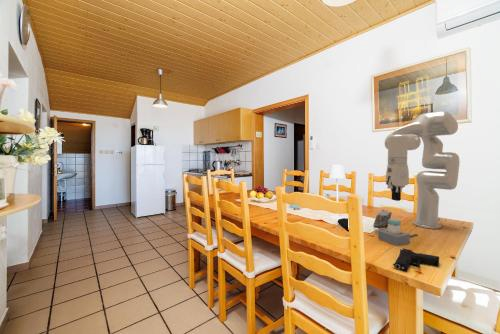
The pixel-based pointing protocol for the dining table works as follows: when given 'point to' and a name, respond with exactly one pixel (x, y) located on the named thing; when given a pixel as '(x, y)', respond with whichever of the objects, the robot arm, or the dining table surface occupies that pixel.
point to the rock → (382, 218)
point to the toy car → (344, 223)
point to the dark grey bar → (413, 235)
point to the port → (394, 237)
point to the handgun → (414, 260)
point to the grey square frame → (378, 230)
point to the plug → (394, 226)
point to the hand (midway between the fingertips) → (396, 200)
